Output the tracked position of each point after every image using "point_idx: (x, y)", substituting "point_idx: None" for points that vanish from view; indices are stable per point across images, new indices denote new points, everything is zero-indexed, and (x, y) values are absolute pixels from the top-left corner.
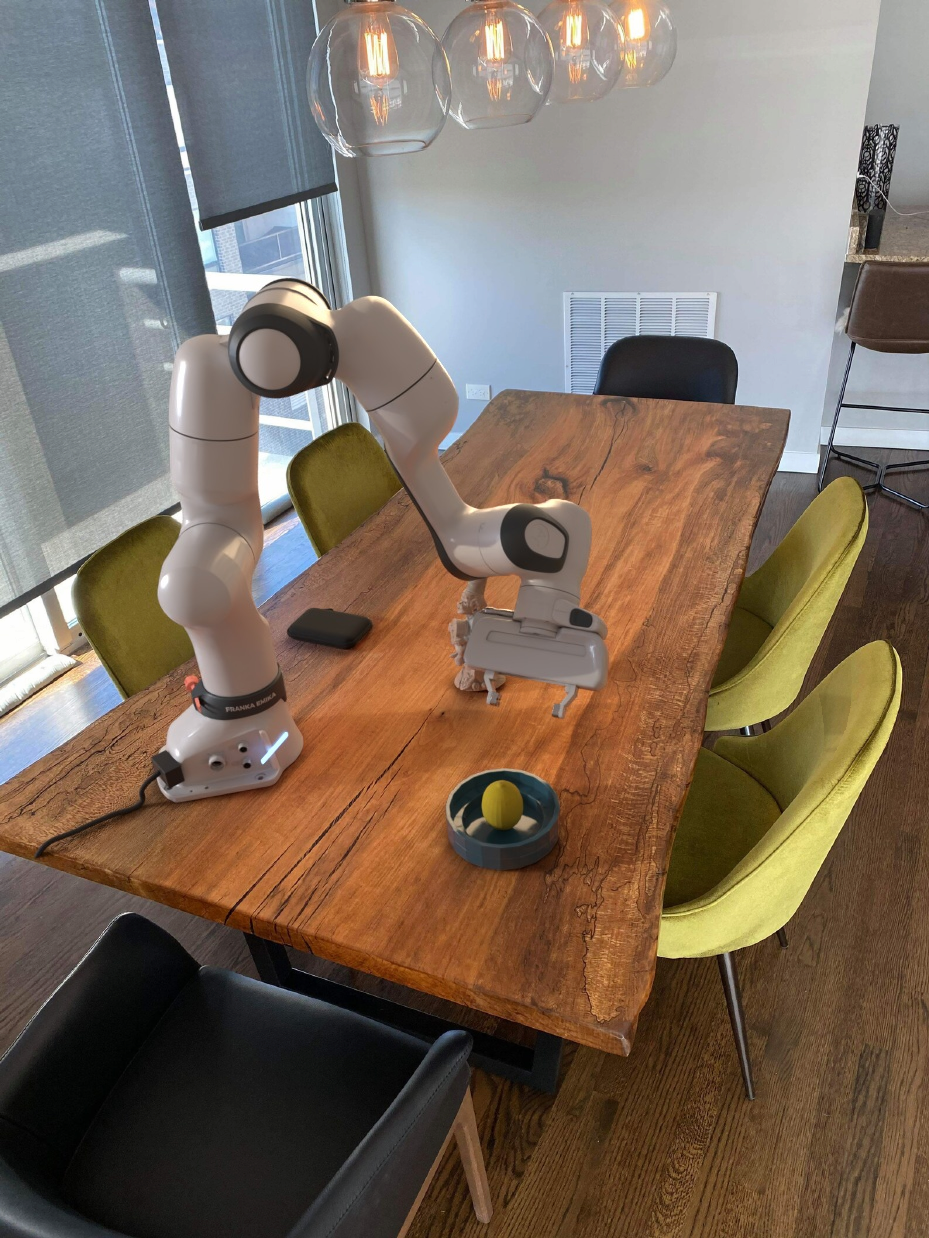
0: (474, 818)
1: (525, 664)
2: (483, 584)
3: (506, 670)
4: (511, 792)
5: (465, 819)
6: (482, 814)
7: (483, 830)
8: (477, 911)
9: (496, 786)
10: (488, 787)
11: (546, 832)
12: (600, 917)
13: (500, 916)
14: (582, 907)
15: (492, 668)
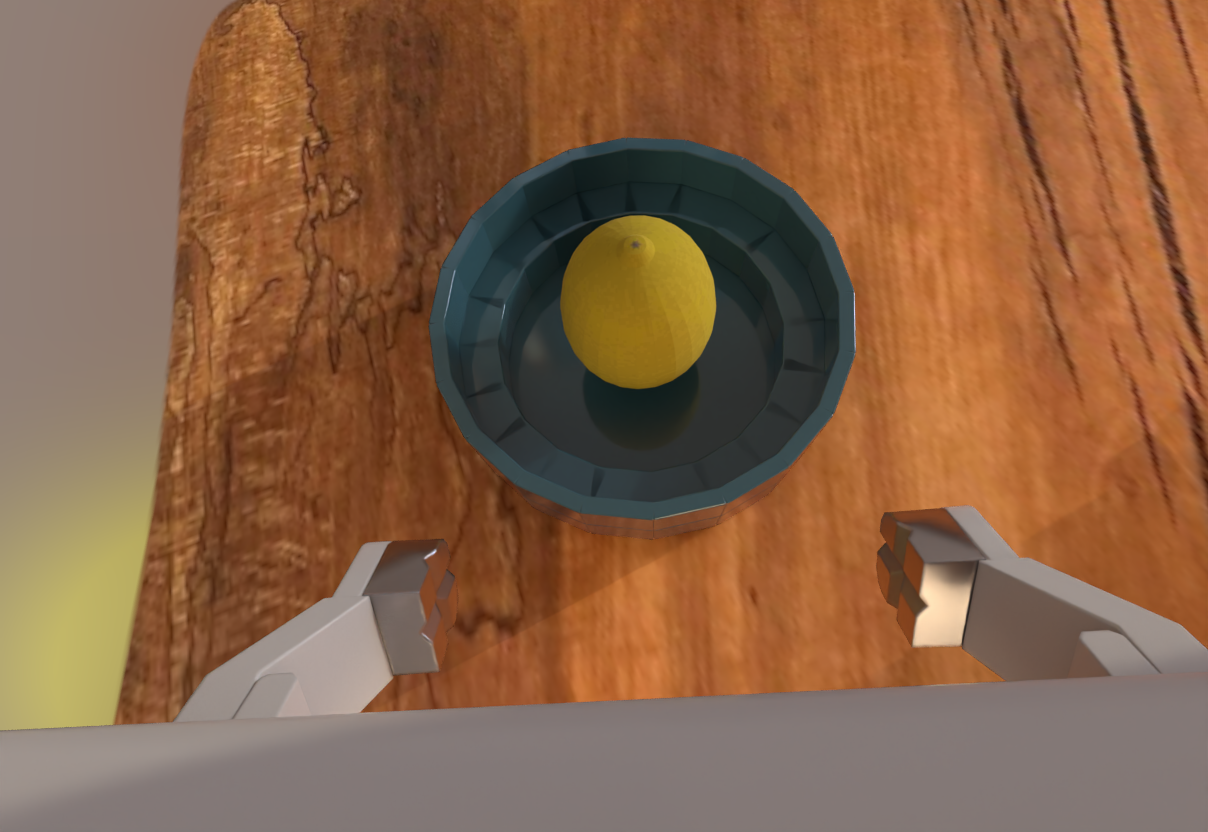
0: (748, 355)
1: (782, 803)
2: None
3: (989, 685)
4: (587, 255)
5: (773, 339)
6: (732, 381)
7: None
8: (587, 103)
9: (651, 238)
10: (691, 255)
11: (447, 256)
12: (294, 195)
13: (528, 111)
14: (342, 204)
15: (1183, 678)
